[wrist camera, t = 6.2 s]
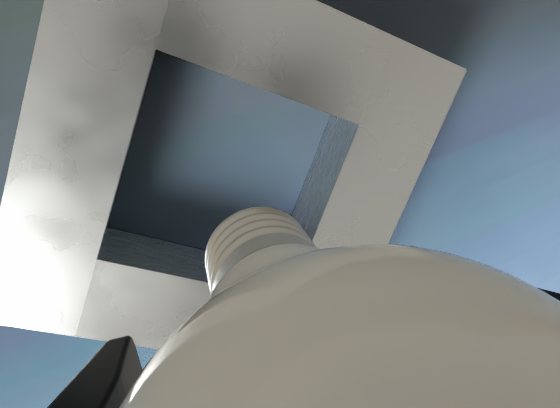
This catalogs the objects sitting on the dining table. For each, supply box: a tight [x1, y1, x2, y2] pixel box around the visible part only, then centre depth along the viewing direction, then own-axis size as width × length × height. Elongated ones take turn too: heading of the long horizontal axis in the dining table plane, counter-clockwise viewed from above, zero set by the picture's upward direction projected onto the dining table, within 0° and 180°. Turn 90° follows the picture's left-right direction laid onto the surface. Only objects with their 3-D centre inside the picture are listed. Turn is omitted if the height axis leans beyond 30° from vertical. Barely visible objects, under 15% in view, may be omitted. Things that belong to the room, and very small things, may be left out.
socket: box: [0, 0, 467, 349], centre depth 17 cm, size 14×14×3 cm
